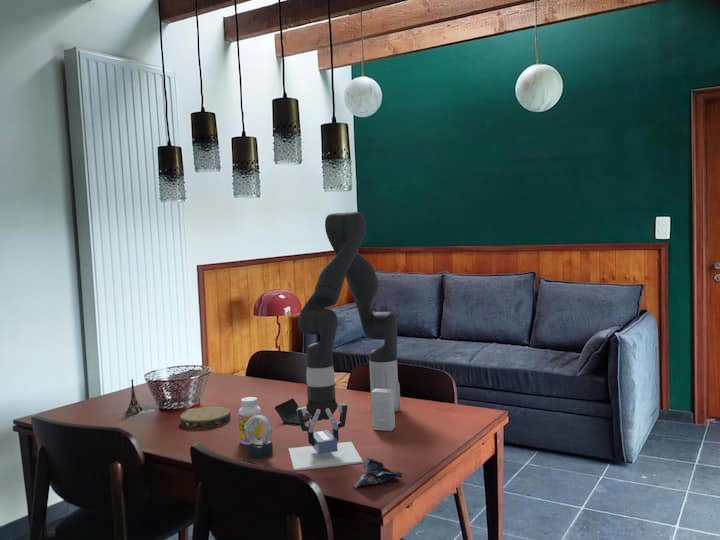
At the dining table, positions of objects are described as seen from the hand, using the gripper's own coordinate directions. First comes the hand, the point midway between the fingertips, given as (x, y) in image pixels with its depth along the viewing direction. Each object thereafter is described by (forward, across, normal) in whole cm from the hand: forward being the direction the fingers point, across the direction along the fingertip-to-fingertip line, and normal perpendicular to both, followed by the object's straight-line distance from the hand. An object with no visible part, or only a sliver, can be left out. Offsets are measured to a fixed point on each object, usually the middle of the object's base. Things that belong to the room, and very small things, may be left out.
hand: (323, 443), depth 174 cm
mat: (+4, 0, 0) cm, 4 cm away
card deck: (+1, 0, 0) cm, 1 cm away
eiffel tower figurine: (+4, -58, +65) cm, 87 cm away
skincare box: (+4, +21, +18) cm, 28 cm away
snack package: (+4, +10, -20) cm, 23 cm away
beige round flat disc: (+4, -33, +45) cm, 56 cm away
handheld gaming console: (+4, -4, +37) cm, 38 cm away
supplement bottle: (+4, -19, +19) cm, 27 cm away
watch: (+4, -17, +7) cm, 19 cm away
